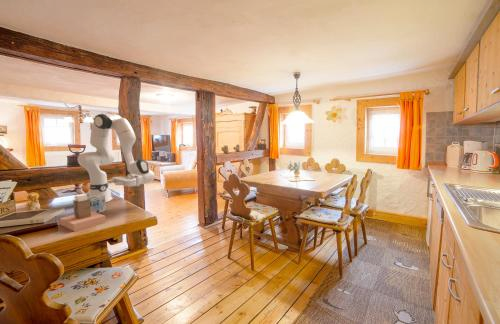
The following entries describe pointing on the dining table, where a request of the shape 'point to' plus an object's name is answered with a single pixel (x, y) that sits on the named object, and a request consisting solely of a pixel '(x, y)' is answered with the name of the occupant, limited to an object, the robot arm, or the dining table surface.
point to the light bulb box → (97, 203)
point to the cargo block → (80, 197)
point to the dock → (82, 221)
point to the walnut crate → (82, 209)
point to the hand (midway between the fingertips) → (111, 183)
